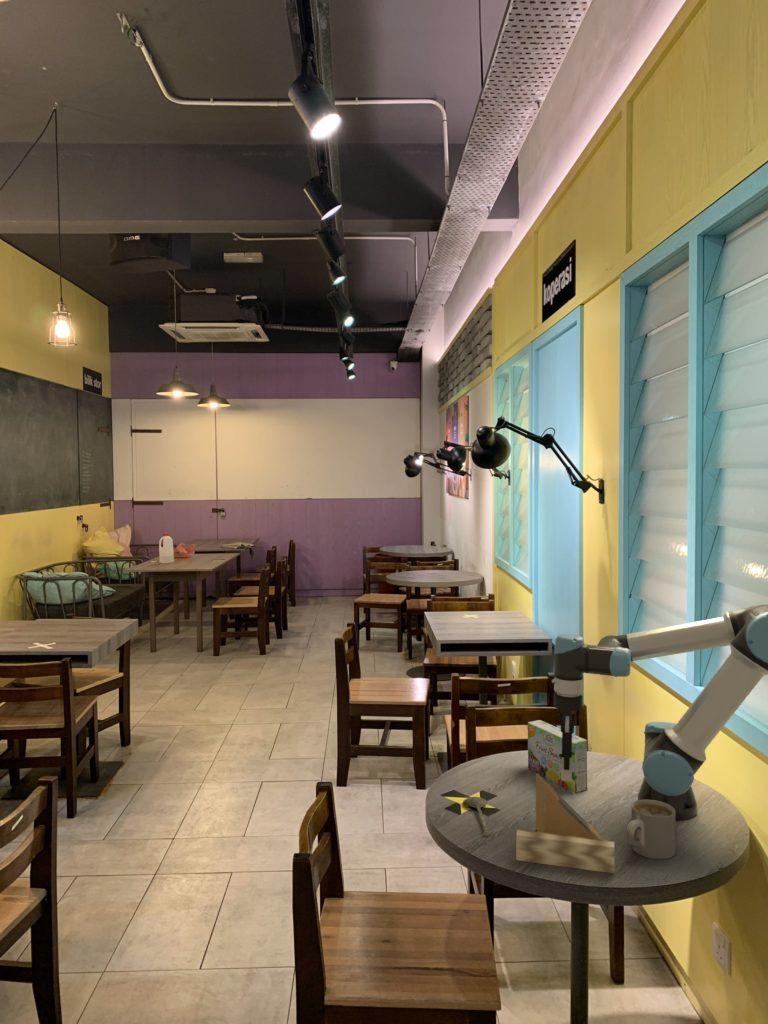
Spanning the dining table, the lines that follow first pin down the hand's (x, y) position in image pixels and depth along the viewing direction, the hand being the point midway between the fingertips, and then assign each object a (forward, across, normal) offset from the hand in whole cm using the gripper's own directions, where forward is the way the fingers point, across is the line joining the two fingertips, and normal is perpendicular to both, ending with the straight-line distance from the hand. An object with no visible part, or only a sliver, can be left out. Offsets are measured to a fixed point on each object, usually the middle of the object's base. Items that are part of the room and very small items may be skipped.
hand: (566, 779), depth 193 cm
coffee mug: (+9, +15, +20) cm, 26 cm away
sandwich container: (+10, +13, +2) cm, 16 cm away
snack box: (+10, -23, -3) cm, 25 cm away
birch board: (+9, +27, +1) cm, 29 cm away
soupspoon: (+10, +8, -22) cm, 26 cm away
